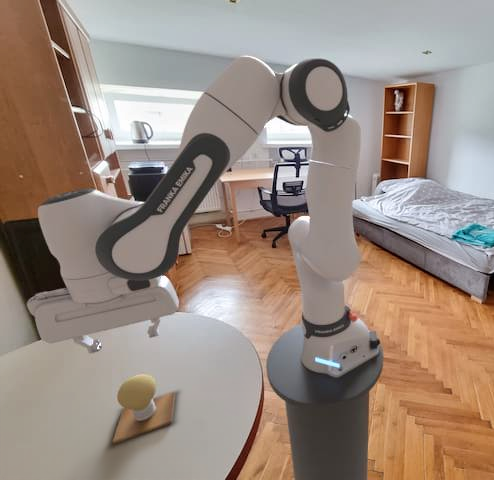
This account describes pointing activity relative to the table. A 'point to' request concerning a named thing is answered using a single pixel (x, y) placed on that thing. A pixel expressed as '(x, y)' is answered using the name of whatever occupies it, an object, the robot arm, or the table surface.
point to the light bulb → (138, 396)
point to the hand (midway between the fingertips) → (126, 342)
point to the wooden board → (160, 418)
